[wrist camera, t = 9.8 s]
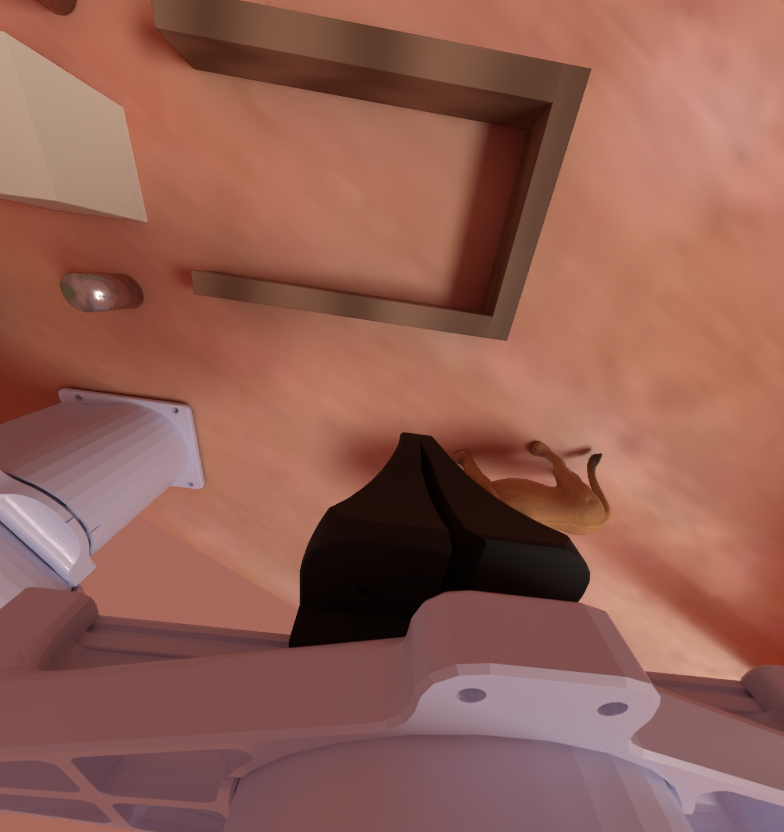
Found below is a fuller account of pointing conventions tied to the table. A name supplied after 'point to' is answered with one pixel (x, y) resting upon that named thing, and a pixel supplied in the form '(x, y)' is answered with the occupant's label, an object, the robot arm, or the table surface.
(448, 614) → the robot arm
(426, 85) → the stall
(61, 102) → the cube
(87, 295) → the posts
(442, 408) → the table surface
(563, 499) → the lion figurine
